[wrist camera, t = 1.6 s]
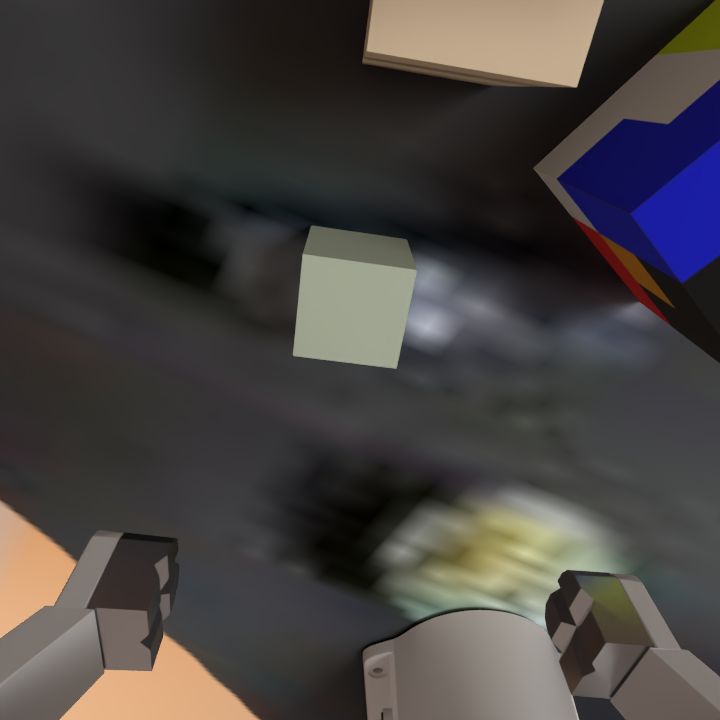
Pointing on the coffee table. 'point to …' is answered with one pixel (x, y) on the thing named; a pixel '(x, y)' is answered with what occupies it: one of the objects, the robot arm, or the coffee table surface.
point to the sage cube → (353, 297)
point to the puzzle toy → (656, 181)
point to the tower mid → (486, 38)
